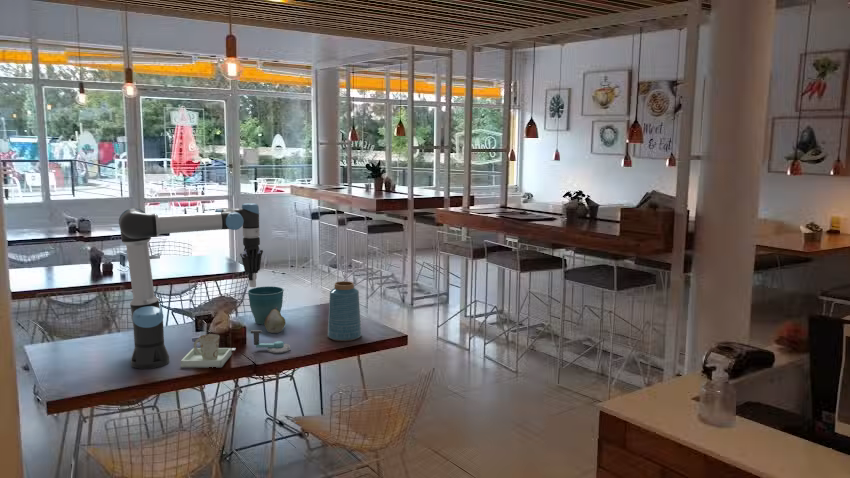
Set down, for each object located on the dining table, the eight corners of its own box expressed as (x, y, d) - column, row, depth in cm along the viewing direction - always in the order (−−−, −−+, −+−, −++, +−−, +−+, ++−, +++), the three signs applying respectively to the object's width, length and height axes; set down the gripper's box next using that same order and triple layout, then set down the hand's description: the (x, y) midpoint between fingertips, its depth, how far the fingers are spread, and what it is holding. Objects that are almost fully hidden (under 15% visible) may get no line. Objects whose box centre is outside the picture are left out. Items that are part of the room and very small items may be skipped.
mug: (212, 363, 281) (211, 340, 280) (187, 360, 285) (186, 337, 283) (224, 357, 289) (223, 335, 288) (199, 354, 293) (198, 332, 291)
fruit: (284, 328, 335) (284, 305, 333) (286, 333, 326) (286, 310, 325) (263, 330, 332) (263, 306, 330) (265, 335, 323) (265, 311, 321)
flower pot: (265, 328, 334) (265, 296, 332) (241, 323, 344) (240, 291, 341) (291, 320, 349) (290, 289, 347) (267, 315, 359) (266, 284, 356)
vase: (367, 338, 320) (367, 284, 316) (337, 344, 311) (336, 288, 307) (351, 330, 334) (351, 278, 329) (322, 335, 324) (321, 282, 320)
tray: (180, 367, 277) (180, 360, 277) (193, 354, 294) (193, 348, 294) (221, 367, 278) (221, 360, 278) (231, 354, 295) (231, 348, 294)
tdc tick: (226, 350, 300) (226, 349, 300) (228, 349, 302) (228, 348, 302) (234, 350, 300) (234, 349, 300) (235, 349, 302) (235, 348, 302)
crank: (284, 345, 304) (284, 329, 303) (283, 348, 299) (282, 331, 298) (252, 345, 303) (251, 329, 302) (250, 348, 299) (249, 332, 297)
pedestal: (265, 353, 297) (265, 350, 296) (270, 346, 306) (270, 343, 306) (288, 353, 297) (288, 350, 297) (291, 346, 307) (291, 343, 307)
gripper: (247, 239, 299) (249, 290, 303) (267, 235, 310) (268, 285, 314) (235, 238, 303) (236, 288, 306) (254, 234, 314) (256, 283, 318)
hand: (252, 286), depth 310 cm, fingers closed
